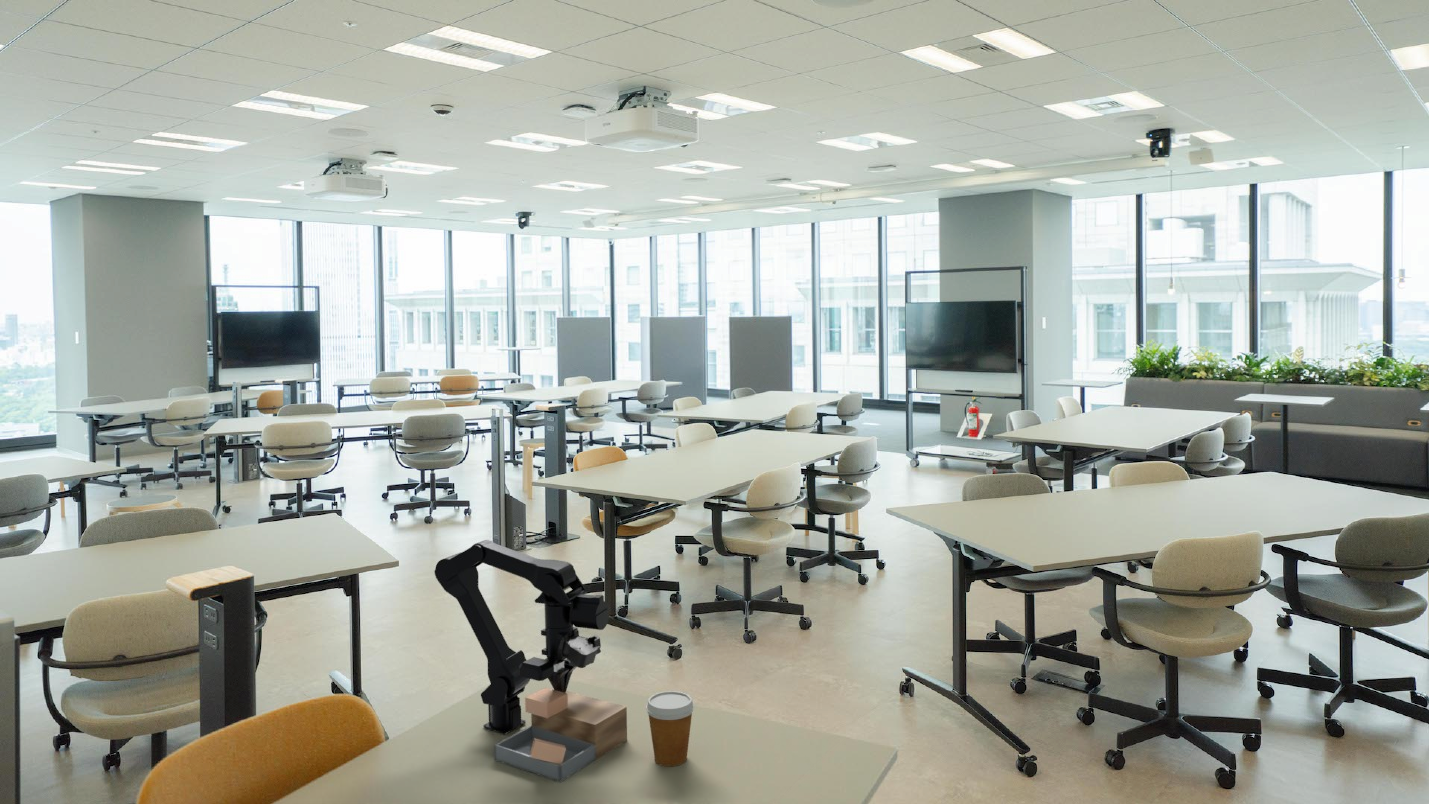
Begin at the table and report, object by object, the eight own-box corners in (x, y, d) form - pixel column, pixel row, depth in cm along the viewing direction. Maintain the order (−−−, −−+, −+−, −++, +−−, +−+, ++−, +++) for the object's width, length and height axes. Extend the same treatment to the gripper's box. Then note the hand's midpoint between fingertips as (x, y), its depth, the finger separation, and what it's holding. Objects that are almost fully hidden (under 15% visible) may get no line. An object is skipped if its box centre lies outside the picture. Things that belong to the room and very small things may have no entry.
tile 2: (564, 745, 177) (559, 761, 176) (534, 738, 176) (529, 754, 176) (566, 748, 172) (561, 764, 171) (535, 740, 171) (530, 757, 170)
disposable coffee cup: (688, 772, 172) (688, 711, 171) (640, 768, 174) (639, 707, 173) (699, 750, 182) (699, 692, 181) (653, 746, 183) (653, 688, 182)
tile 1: (525, 711, 184) (525, 697, 183) (546, 701, 189) (545, 687, 188) (547, 718, 180) (546, 703, 180) (567, 707, 185) (567, 693, 185)
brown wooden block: (531, 739, 187) (531, 706, 186) (564, 721, 195) (563, 690, 195) (596, 759, 178) (595, 725, 177) (627, 739, 186) (626, 706, 186)
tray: (494, 760, 178) (494, 745, 178) (531, 739, 187) (531, 725, 187) (560, 782, 169) (559, 766, 169) (596, 759, 178) (595, 744, 178)
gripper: (559, 644, 175) (561, 723, 176) (617, 617, 191) (619, 689, 192) (516, 635, 180) (518, 711, 182) (576, 609, 196) (578, 679, 198)
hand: (561, 697), depth 188 cm, fingers closed
